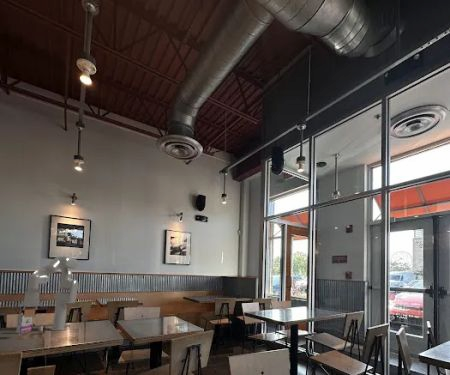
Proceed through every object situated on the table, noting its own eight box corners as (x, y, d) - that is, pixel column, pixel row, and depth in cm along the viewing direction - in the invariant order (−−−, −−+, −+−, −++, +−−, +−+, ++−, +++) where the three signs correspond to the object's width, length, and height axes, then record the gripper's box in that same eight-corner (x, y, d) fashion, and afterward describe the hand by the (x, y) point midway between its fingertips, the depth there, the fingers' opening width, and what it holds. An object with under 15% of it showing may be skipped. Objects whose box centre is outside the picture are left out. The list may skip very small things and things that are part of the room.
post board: (46, 334, 284) (47, 324, 285) (46, 339, 266) (47, 329, 268) (18, 336, 275) (19, 326, 277) (15, 341, 258) (17, 330, 259)
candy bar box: (26, 332, 290) (29, 311, 293) (31, 332, 288) (34, 312, 292) (15, 334, 279) (18, 313, 283) (19, 335, 278) (22, 313, 281)
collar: (34, 315, 273) (35, 308, 274) (34, 316, 267) (35, 309, 268) (24, 315, 270) (25, 309, 271) (23, 317, 264) (24, 310, 265)
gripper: (45, 290, 279) (42, 314, 276) (20, 290, 272) (17, 315, 269) (45, 291, 273) (42, 315, 269) (19, 291, 265) (16, 316, 262)
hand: (29, 315), depth 269 cm, fingers closed on collar, 7 cm apart
